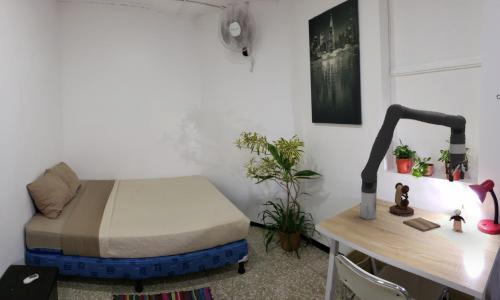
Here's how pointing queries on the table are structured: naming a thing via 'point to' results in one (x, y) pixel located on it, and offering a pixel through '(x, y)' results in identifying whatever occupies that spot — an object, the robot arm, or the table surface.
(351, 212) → the table surface
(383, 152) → the robot arm
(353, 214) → the table surface
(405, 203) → the brown wooden statue
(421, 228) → the walnut board
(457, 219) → the grandmother figurine
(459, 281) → the table surface
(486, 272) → the table surface
